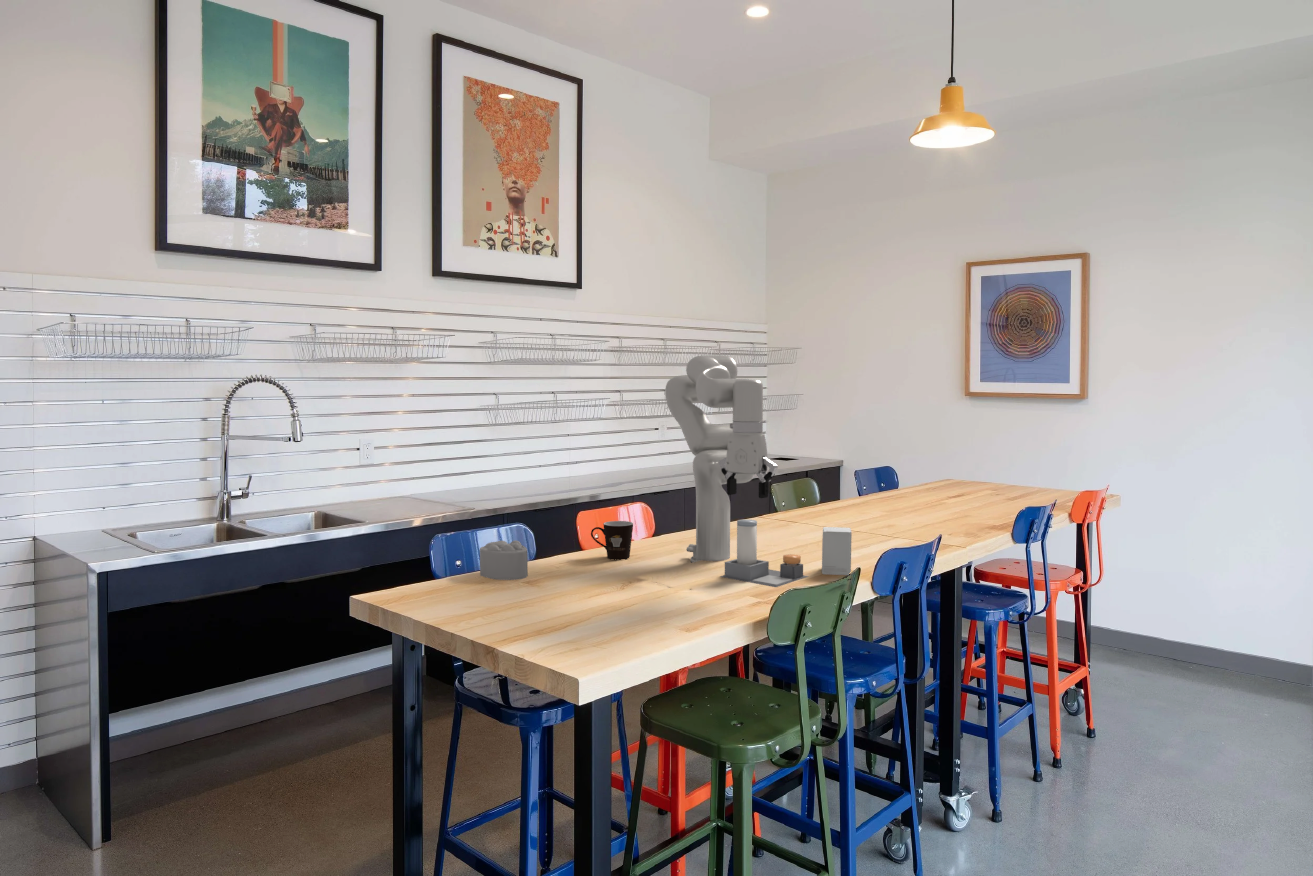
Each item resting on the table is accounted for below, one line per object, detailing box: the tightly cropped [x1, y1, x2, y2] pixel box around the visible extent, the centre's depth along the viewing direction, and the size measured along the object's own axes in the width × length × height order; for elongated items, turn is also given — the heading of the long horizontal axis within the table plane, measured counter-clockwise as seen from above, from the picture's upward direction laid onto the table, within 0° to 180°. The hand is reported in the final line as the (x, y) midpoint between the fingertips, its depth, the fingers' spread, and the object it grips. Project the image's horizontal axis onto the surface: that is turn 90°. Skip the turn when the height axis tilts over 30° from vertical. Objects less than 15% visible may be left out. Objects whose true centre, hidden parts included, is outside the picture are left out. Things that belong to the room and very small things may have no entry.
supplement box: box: [821, 526, 853, 576], centre depth 223 cm, size 7×7×13 cm
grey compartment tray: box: [719, 558, 809, 588], centre depth 218 cm, size 17×15×5 cm
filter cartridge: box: [736, 518, 758, 566], centre depth 219 cm, size 5×5×14 cm
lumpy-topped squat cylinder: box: [479, 539, 529, 581], centre depth 226 cm, size 10×13×9 cm
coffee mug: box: [590, 520, 634, 561], centre depth 248 cm, size 12×9×10 cm
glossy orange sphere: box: [782, 553, 802, 566], centre depth 218 cm, size 4×4×4 cm
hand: (747, 496), depth 218 cm, fingers open, 9 cm apart
